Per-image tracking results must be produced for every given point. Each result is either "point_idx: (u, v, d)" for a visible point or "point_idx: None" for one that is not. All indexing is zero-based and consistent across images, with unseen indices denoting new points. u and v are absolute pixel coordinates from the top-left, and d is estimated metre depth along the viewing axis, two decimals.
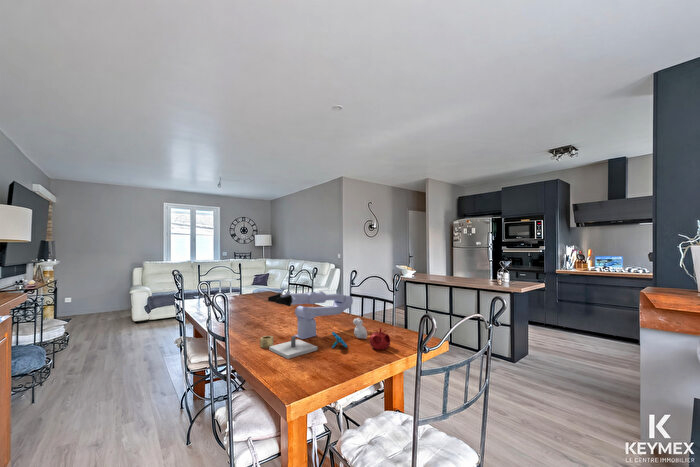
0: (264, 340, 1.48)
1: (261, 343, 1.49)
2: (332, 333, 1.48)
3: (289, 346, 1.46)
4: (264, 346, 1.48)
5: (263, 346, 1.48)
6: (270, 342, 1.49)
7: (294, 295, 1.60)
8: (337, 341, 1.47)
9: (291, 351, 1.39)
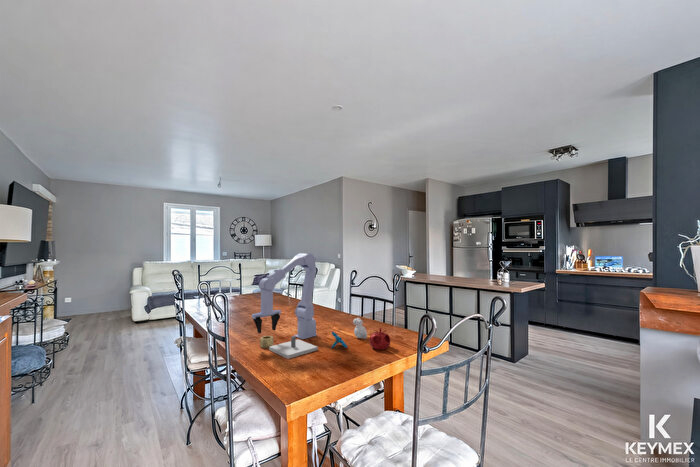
0: (264, 340, 1.48)
1: (261, 343, 1.49)
2: (332, 333, 1.48)
3: (289, 346, 1.46)
4: (264, 346, 1.48)
5: (263, 346, 1.48)
6: (270, 342, 1.49)
7: None
8: (337, 341, 1.47)
9: (291, 351, 1.39)
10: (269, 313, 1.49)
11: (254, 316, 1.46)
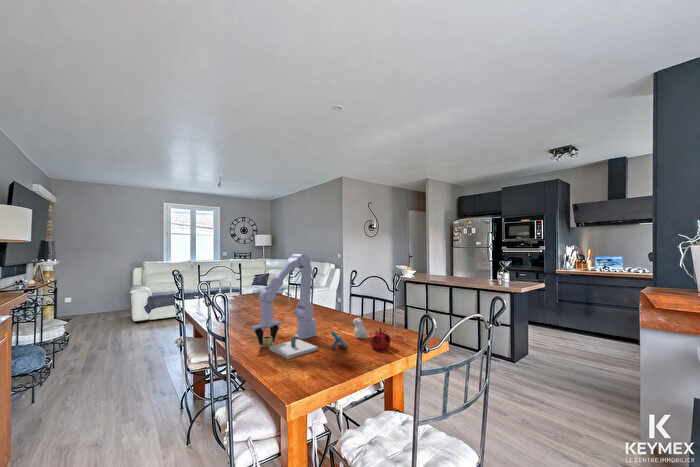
0: (264, 340, 1.48)
1: None
2: (332, 333, 1.48)
3: (289, 346, 1.46)
4: (264, 346, 1.48)
5: (263, 346, 1.48)
6: (270, 342, 1.49)
7: None
8: (336, 341, 1.47)
9: (291, 351, 1.39)
10: (269, 325, 1.49)
11: (254, 328, 1.46)
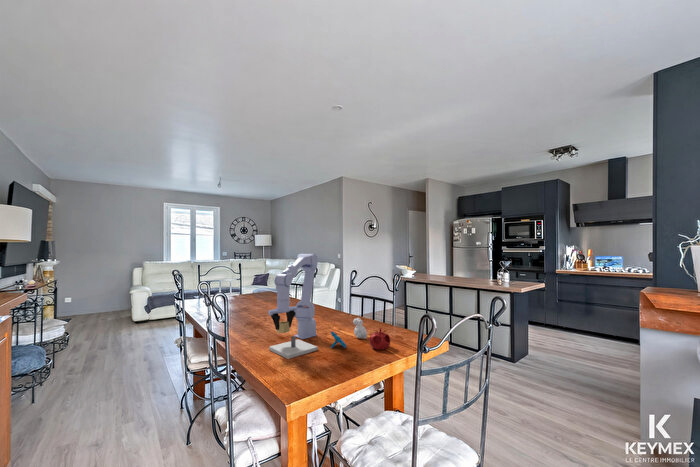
0: (281, 325, 1.45)
1: None
2: (331, 333, 1.48)
3: (289, 346, 1.46)
4: (281, 331, 1.45)
5: (280, 331, 1.45)
6: (287, 327, 1.46)
7: None
8: (336, 341, 1.47)
9: (291, 351, 1.39)
10: (286, 309, 1.45)
11: (271, 312, 1.42)
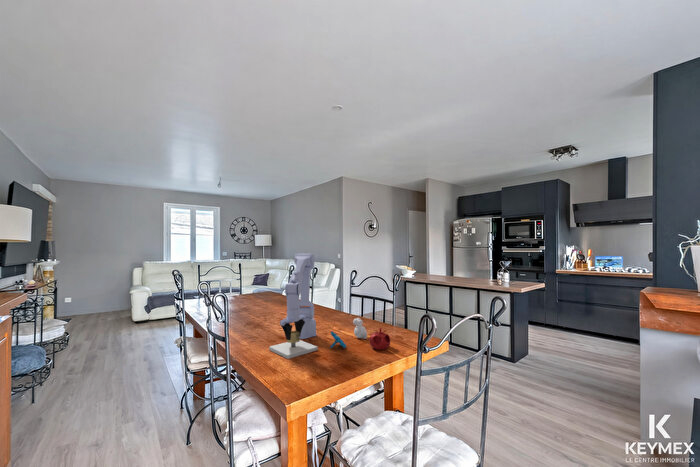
0: (292, 335, 1.42)
1: None
2: (331, 333, 1.48)
3: (289, 346, 1.46)
4: (292, 341, 1.42)
5: (291, 341, 1.42)
6: (298, 337, 1.44)
7: (287, 313, 1.45)
8: (336, 341, 1.47)
9: (291, 351, 1.39)
10: (297, 319, 1.44)
11: (283, 323, 1.39)
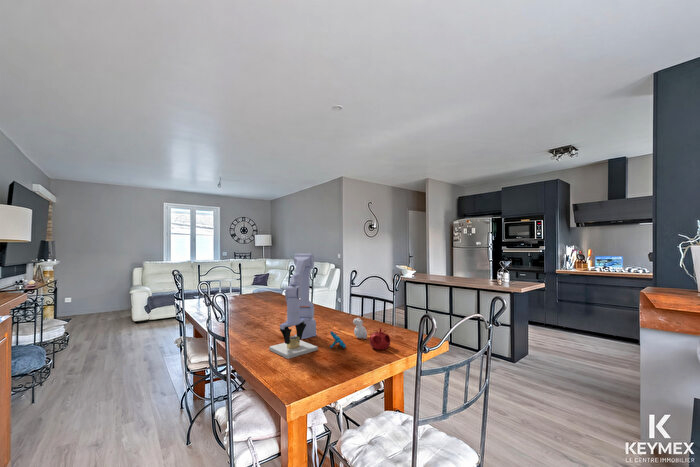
0: (292, 341, 1.42)
1: (288, 344, 1.43)
2: (330, 332, 1.48)
3: None
4: (292, 347, 1.42)
5: (291, 347, 1.42)
6: (298, 342, 1.44)
7: (287, 316, 1.45)
8: (335, 341, 1.47)
9: (291, 351, 1.39)
10: (297, 322, 1.43)
11: (283, 326, 1.39)
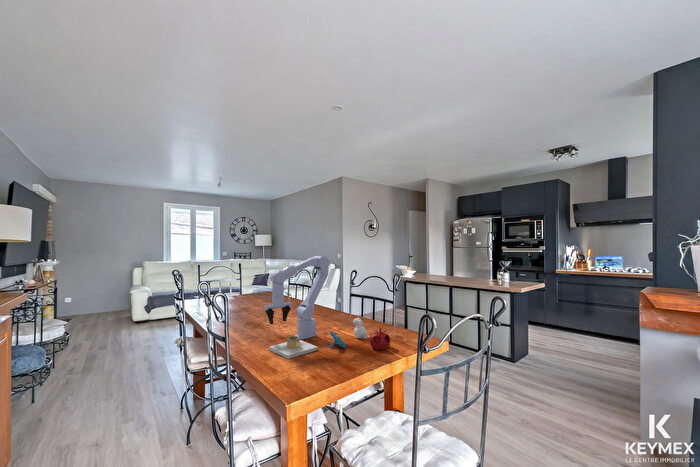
0: (292, 341, 1.42)
1: (288, 344, 1.43)
2: (330, 333, 1.48)
3: None
4: (292, 347, 1.42)
5: (291, 347, 1.42)
6: (298, 342, 1.44)
7: None
8: (335, 341, 1.47)
9: (291, 351, 1.39)
10: (280, 305, 1.57)
11: (266, 308, 1.53)
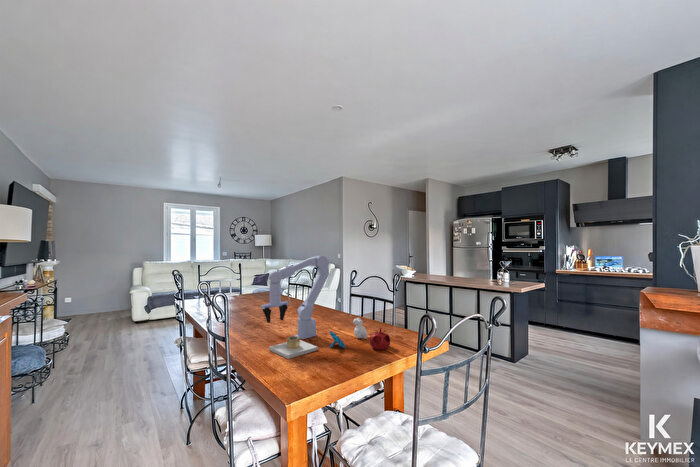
0: (292, 341, 1.42)
1: (288, 344, 1.43)
2: (330, 333, 1.48)
3: None
4: (292, 347, 1.42)
5: (291, 347, 1.42)
6: (298, 342, 1.44)
7: None
8: (335, 341, 1.47)
9: (291, 351, 1.39)
10: (277, 304, 1.59)
11: (264, 306, 1.56)
